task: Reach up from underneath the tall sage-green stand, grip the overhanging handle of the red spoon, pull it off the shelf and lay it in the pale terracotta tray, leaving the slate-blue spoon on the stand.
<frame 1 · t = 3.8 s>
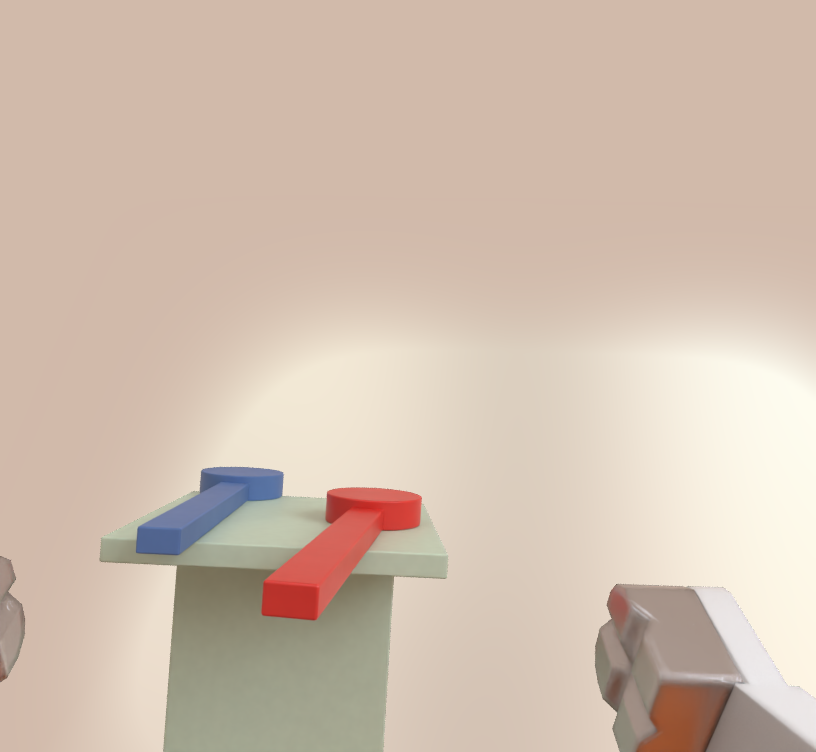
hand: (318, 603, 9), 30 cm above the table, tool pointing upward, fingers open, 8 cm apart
red spoon: (356, 540, 30), point 27 cm above the table, touching stand
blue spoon: (223, 507, 36), point 27 cm above the table, touching stand
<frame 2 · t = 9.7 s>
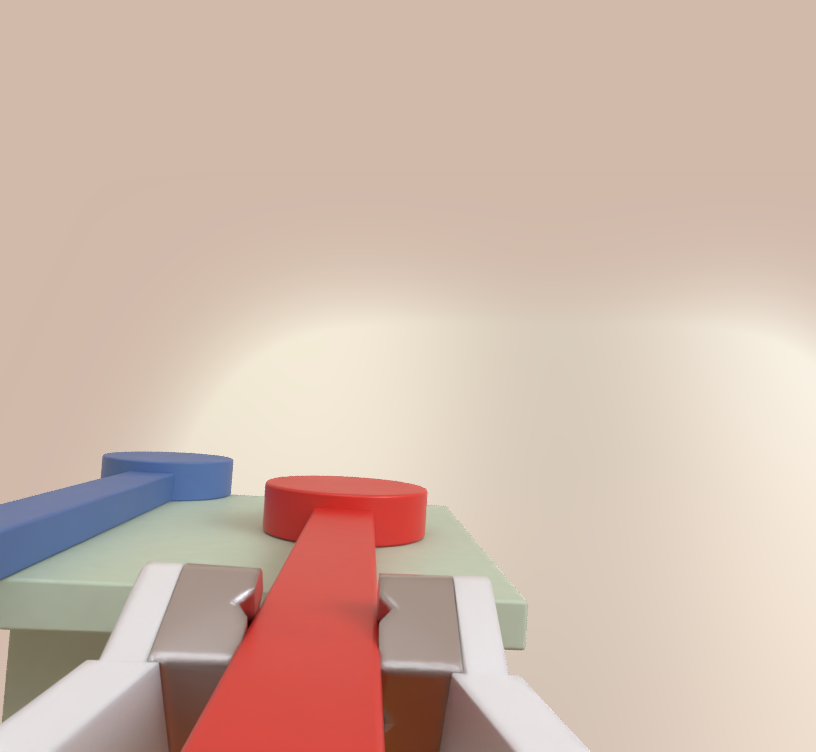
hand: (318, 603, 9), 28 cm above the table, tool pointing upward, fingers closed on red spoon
red spoon: (336, 570, 15), point 27 cm above the table, touching gripper
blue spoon: (121, 511, 22), point 27 cm above the table, touching stand
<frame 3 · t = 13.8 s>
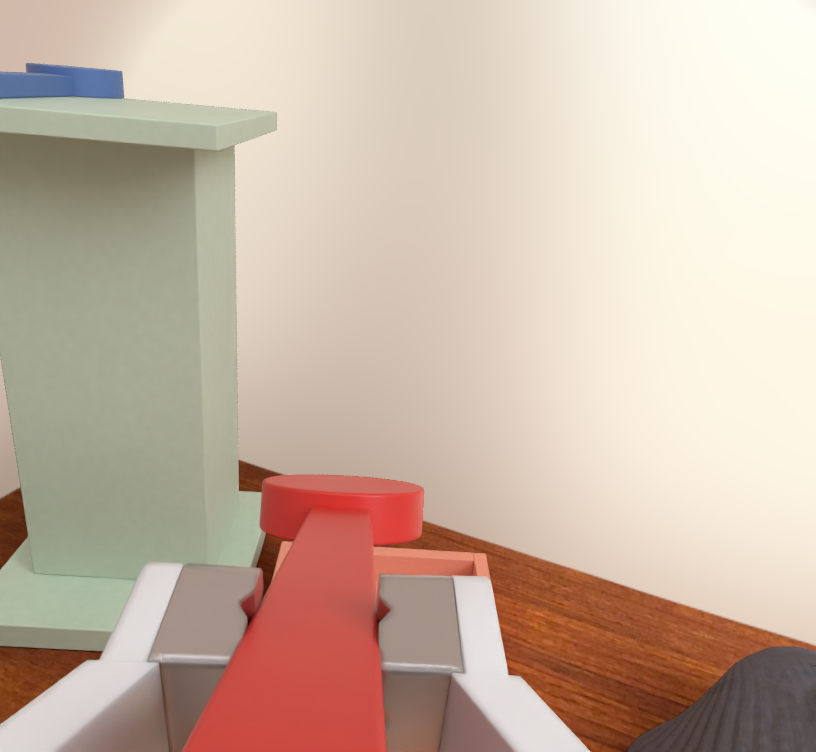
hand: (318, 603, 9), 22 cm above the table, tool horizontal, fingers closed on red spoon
red spoon: (334, 569, 15), point 19 cm above the table, tilted 26°, touching gripper
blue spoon: (33, 95, 34), point 27 cm above the table, touching stand
stand: (141, 566, 43), on the table
tray: (375, 749, 33), on the table
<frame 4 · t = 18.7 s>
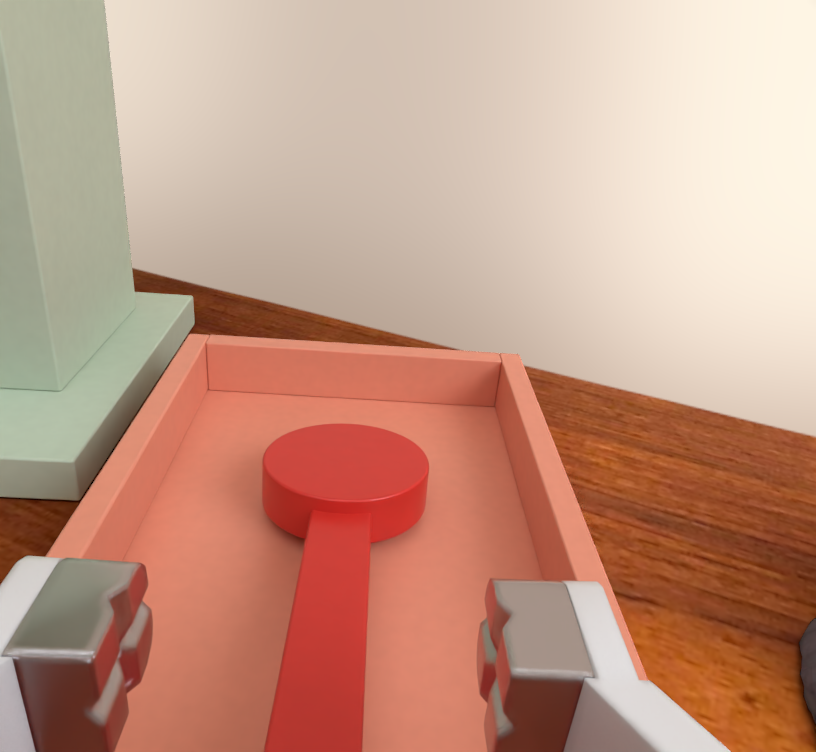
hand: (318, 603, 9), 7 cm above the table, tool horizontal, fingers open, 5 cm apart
red spoon: (331, 612, 16), point 2 cm above the table, tilted 6°, touching tray
tray: (331, 643, 17), on the table
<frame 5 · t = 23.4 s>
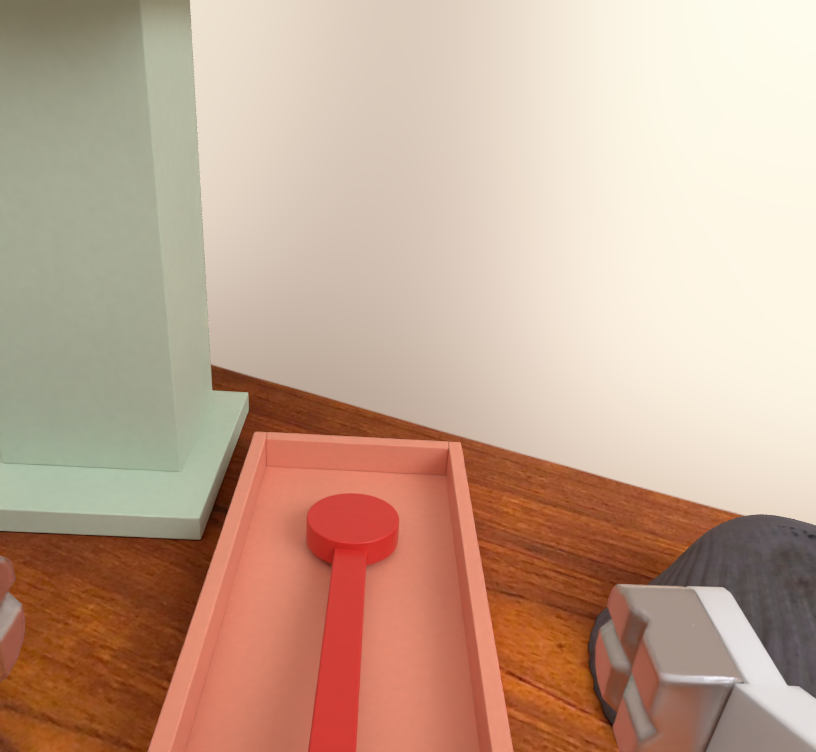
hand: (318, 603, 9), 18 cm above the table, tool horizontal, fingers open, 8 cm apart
red spoon: (346, 601, 31), point 2 cm above the table, tilted 6°, touching tray
stand: (114, 460, 43), on the table
tray: (345, 618, 33), on the table
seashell: (806, 705, 30), on the table
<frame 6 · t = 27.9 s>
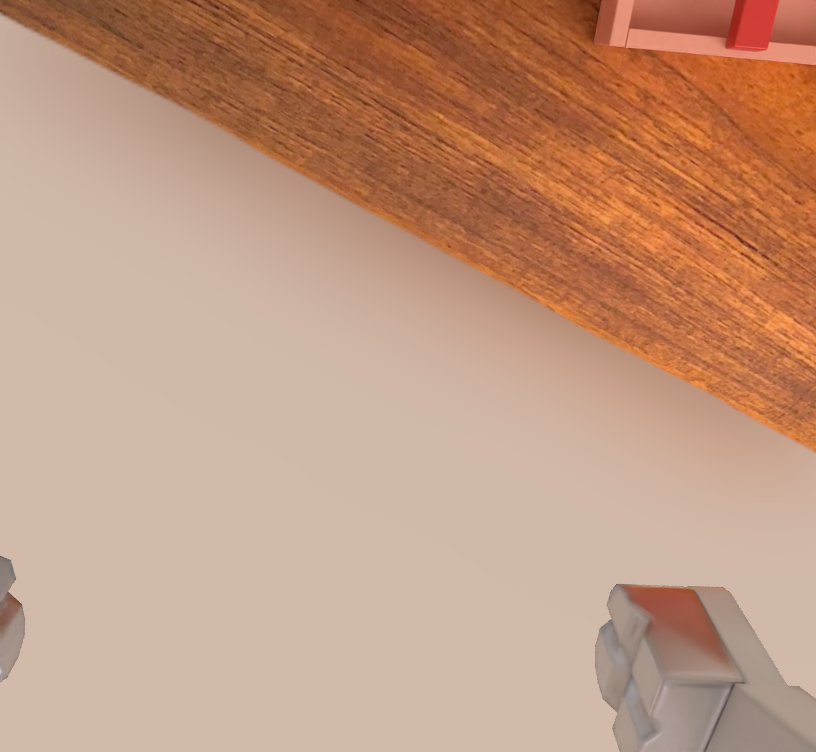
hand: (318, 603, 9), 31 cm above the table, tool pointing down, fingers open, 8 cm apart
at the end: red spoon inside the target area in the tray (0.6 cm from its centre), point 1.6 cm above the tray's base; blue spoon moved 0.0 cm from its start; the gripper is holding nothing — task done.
